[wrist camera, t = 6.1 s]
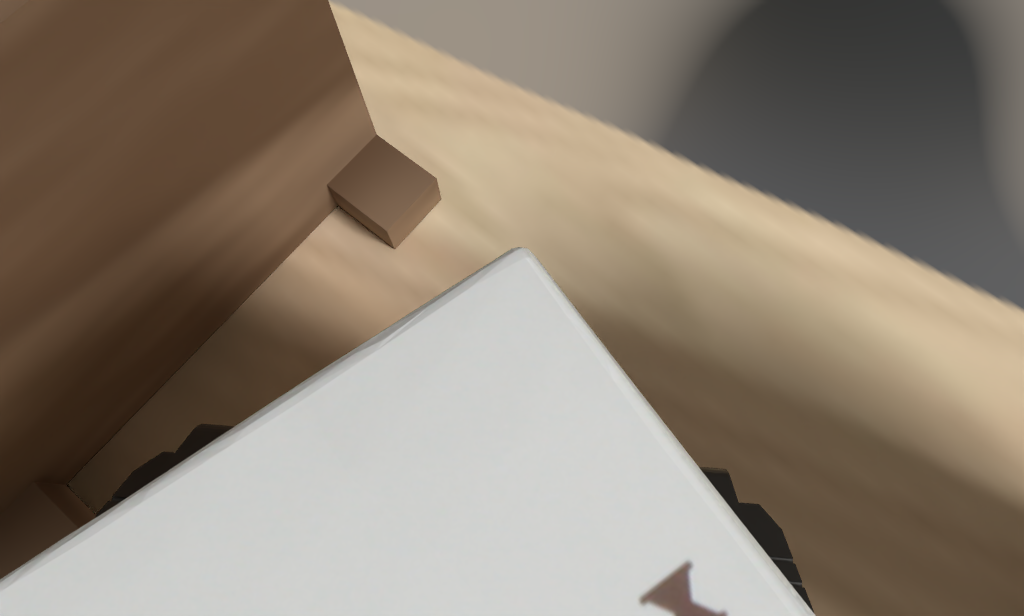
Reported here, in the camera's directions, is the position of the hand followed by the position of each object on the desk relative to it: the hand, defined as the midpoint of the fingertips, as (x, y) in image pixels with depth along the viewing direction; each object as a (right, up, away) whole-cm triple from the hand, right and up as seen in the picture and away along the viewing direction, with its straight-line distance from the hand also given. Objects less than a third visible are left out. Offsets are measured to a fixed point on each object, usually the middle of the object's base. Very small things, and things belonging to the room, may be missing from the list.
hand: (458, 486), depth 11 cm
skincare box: (0, -3, +5) cm, 6 cm away
